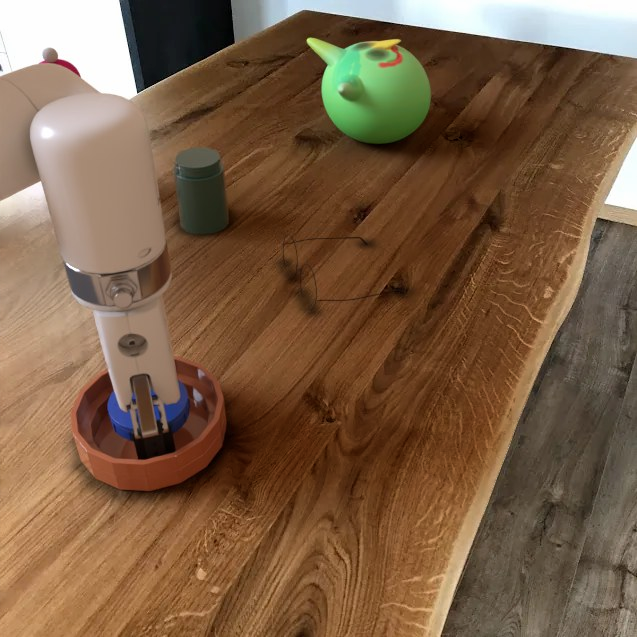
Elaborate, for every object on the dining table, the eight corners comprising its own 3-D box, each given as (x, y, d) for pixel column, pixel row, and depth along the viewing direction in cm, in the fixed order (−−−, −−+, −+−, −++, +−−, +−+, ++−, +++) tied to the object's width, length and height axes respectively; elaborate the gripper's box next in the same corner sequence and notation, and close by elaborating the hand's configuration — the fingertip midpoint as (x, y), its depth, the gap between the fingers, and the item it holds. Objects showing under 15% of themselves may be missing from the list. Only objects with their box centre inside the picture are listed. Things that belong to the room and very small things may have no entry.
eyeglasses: (365, 241, 91) (367, 206, 88) (409, 300, 82) (412, 263, 79) (279, 259, 88) (277, 224, 85) (314, 322, 79) (314, 285, 76)
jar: (176, 235, 92) (166, 168, 86) (186, 210, 97) (177, 144, 91) (224, 237, 92) (218, 170, 86) (232, 211, 97) (226, 146, 91)
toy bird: (444, 152, 110) (456, 54, 100) (340, 170, 105) (342, 70, 96) (394, 106, 123) (401, 15, 113) (299, 120, 118) (298, 27, 109)
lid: (196, 388, 67) (194, 374, 66) (180, 444, 62) (178, 431, 61) (123, 384, 67) (120, 371, 66) (101, 440, 62) (97, 427, 61)
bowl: (60, 490, 62) (49, 459, 59) (104, 382, 72) (96, 352, 69) (212, 498, 61) (207, 467, 59) (235, 388, 71) (232, 358, 69)
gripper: (186, 328, 49) (211, 494, 60) (155, 201, 62) (181, 357, 73) (69, 349, 47) (118, 515, 58) (63, 214, 60) (104, 372, 71)
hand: (152, 426), depth 66 cm, fingers closed on lid, 6 cm apart
